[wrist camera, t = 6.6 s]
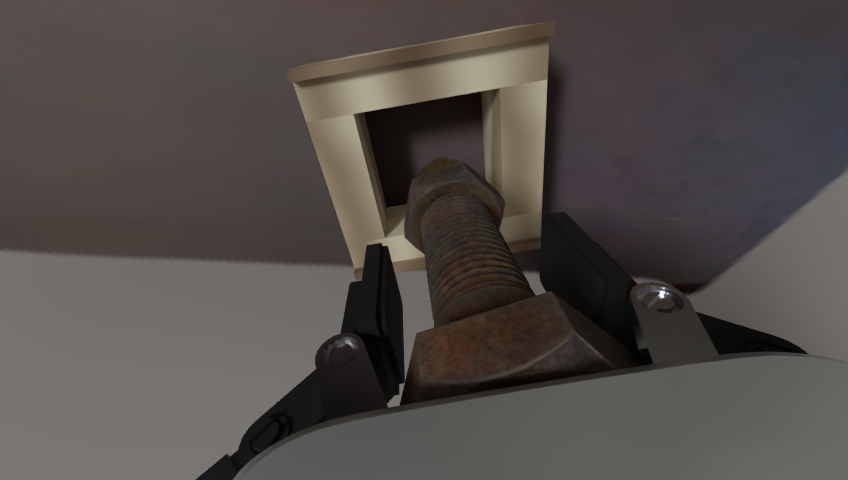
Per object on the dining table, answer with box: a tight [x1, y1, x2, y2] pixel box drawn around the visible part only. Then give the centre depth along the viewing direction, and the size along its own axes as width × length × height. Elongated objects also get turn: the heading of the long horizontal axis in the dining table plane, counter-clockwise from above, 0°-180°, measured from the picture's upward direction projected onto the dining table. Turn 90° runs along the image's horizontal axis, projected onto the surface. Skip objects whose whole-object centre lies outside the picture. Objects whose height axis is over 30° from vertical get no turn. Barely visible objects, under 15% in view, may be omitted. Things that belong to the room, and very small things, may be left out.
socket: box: [286, 22, 555, 280], centre depth 23 cm, size 14×14×6 cm
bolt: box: [400, 157, 639, 406], centre depth 13 cm, size 6×5×15 cm
